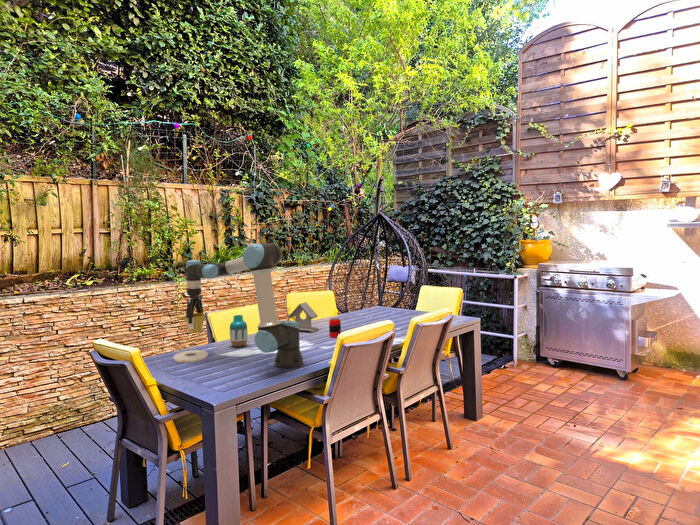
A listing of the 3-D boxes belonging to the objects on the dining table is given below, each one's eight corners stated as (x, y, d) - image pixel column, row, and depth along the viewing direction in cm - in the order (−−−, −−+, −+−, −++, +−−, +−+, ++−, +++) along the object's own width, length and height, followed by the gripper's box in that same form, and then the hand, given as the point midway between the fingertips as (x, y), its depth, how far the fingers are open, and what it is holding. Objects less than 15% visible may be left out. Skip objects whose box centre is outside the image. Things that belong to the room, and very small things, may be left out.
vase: (226, 347, 264) (225, 316, 262) (236, 343, 274) (235, 313, 272) (241, 349, 260) (240, 317, 259) (251, 344, 270) (250, 314, 269)
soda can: (340, 335, 291) (340, 317, 291) (340, 337, 284) (340, 319, 283) (329, 335, 291) (329, 317, 290) (329, 338, 284) (329, 320, 283)
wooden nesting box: (318, 330, 307) (317, 302, 306) (311, 333, 299) (311, 304, 297) (295, 328, 314) (294, 301, 313) (288, 331, 306) (288, 303, 304)
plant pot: (198, 334, 236) (198, 316, 235) (181, 333, 238) (181, 316, 237) (208, 330, 246) (208, 313, 245) (192, 329, 248) (191, 312, 248)
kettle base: (200, 362, 234) (200, 359, 233) (167, 362, 234) (167, 359, 234) (212, 353, 252) (212, 350, 251) (182, 353, 252) (181, 350, 252)
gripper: (195, 285, 252) (197, 322, 253) (178, 290, 229) (179, 331, 231) (208, 285, 251) (209, 322, 253) (192, 290, 229) (193, 331, 230)
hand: (195, 326), depth 242 cm, fingers closed on plant pot, 10 cm apart
